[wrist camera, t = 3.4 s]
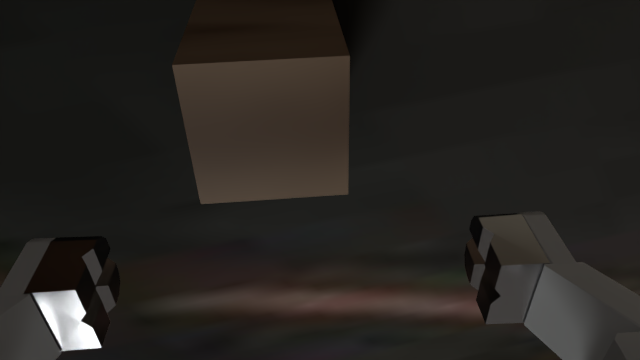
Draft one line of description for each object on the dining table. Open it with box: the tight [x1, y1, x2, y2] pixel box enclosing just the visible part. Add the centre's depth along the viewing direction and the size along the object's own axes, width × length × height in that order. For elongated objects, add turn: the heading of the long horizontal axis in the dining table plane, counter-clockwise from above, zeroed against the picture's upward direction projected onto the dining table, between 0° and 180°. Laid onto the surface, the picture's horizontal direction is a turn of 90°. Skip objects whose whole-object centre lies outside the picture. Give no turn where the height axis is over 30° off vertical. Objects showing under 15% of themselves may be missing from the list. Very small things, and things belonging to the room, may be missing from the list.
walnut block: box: [172, 0, 350, 204], centre depth 18 cm, size 5×5×6 cm
